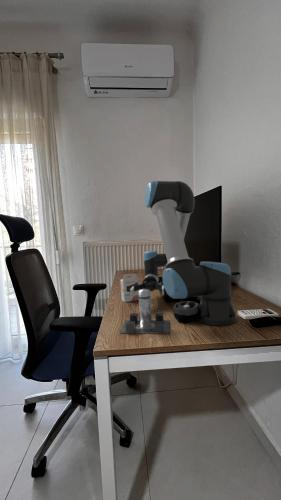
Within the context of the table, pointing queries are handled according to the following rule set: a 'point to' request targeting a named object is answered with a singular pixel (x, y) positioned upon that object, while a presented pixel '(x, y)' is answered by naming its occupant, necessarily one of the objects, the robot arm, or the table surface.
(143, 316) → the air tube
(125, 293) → the ink cartridge box
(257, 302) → the table surface
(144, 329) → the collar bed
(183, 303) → the cpu cooler
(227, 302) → the robot arm
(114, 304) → the table surface
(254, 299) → the table surface
